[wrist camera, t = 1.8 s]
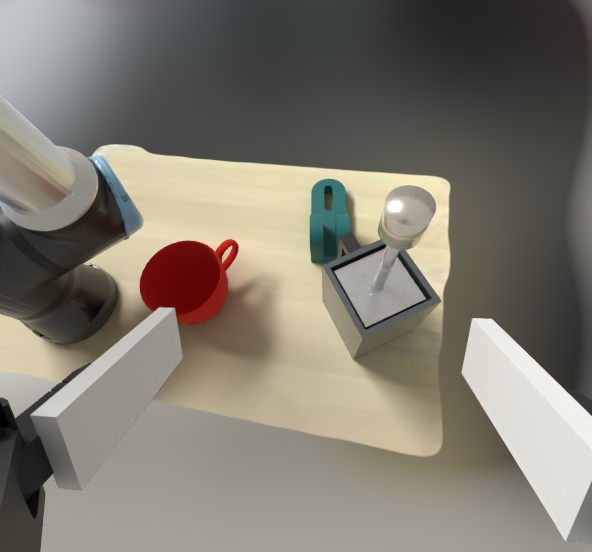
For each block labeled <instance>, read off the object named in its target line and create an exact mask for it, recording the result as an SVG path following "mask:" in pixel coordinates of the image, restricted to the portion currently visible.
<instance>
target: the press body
mask: <svg viewBox="0 0 592 552" xmlns="http://www.w3.org/2000/svg"><path fill="white" fill-rule="evenodd" d="M386 246H387V245H386V244H384V243H383V242H382V240H378V241H376V242H374V243H372V244H369V245H367V246H365V247H363V248H361V246H360V245H359V243H358V242H357V240H356V239H355V237H354V236H353V234H352V233H351V232H350V233H348V234H345V235H343V236H341V237H339V242H338V255H337V259H336V260H333V261H331V262H329V263H327V264H324V265H322V288H323V303H324V305H325V307H326V308H327V310H328V312H329V314H330V316H331V318H332V320H333V322H334V324H335V326H336V328H337V330H338V331H339V333H340V335H341V337H342V339H343V341H344V343H345V345H346V347H347V349H348V351H349V353H350V354H351V356H352V358H353V359H354V358H357V357H359V356H361V355H363V354H365V353H367V352H369V351H371V350H373V349H375V348H377V347H379V346H381V345H383V344H386V343H388V342H390V341H392V340H394V339H396V338H398V337H400V336H402V335H404V334H406V333H408V332H410V331H412V330H413V329H414V328H415V327H416V326H417V325H418V324H419V323H420V322H421V321H422V320H423V319H424V318H425V317H426V316H427V315H428V314H429V313H430V312H431V311H432V310H433V309H434V308H435V307H436V306H437V305H438V304H439V303H440V302H441V300H440V298H439V297H438V295H437V294H436V293H435V291H434V290H433V288H432V287H431V285H430V284H429V283H428V281H427V280H426V278H425V277H424V276H423V274H422V273H421V271H420V270H419V269H418V267H417V266H416V264H415V263H414V261H413V260H412V259H411V257H410V256H409V254H408V253H407V252H406V250H400V251H399V253H398V256H397V257H398V259H399V260H400V262H401V263H402V264H403V266H404V267H405V269H406V270H407V272H408V273H409V275H410V276H411V278H412V279H413V280H414V282H415V283H416V285H417V286H418V288H419V289H420V291H421V292H422V294H423V295H424V296H425V298H426V299H425V301H422V302H420V303H418V304H416V305H414V306H412V307H410V308H408V309H406V310H403V311H401V312H399V313H397V314H395V315H393V316H391V317H389V318H387V319H384V320H382V321H380V322H378V323H376V324H374V325H372V326H370V327H368V328H365V327H364V325H363V324H362V322H361V320H360V318H359V317H358V315H357V313H356V311H355V309H354V308H353V306H352V304H351V302H350V301H349V299H348V297H347V295H346V294H345V292H344V290H343V288H342V286H341V285H340V283H339V281H338V279H337V278H336V276H335V274H334V271H336V270H338V269H340V268H342V267H344V266H347V265H349V264H351V263H353V262H356V261H358V260H360V259H362V258H365V257H367V256H369V255H371V254H374V253H376V252H378V251H380V250H382V249H385V248H386Z"/></svg>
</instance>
